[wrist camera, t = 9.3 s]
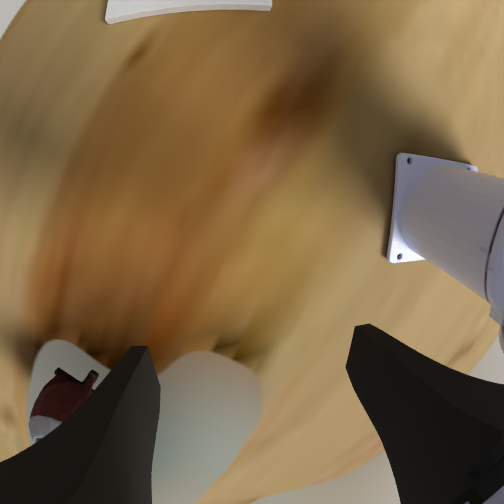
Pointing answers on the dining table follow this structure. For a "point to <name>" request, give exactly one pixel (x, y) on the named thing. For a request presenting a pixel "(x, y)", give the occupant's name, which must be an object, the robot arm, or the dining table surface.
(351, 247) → the dining table surface
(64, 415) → the mate gourd
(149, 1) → the grey tile
